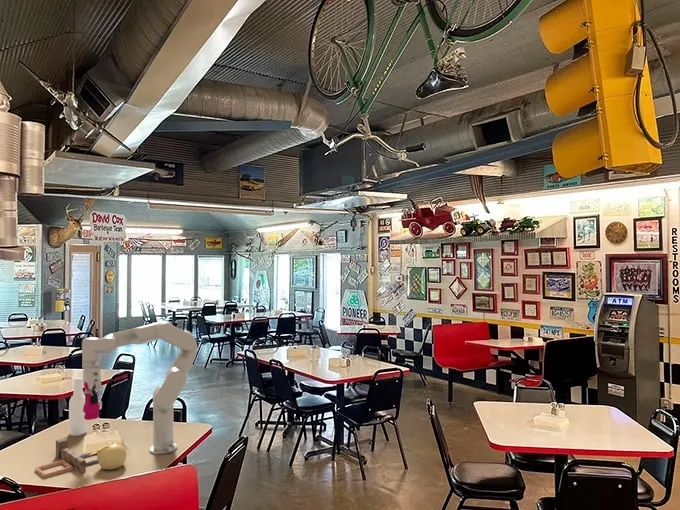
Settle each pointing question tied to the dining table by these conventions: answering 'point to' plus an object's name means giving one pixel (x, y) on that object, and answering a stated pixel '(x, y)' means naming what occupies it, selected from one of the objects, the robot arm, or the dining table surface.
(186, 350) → the robot arm
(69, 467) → the collar
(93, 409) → the pepper mill
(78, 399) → the alcohol
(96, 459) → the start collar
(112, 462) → the pale yellow round fruit
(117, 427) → the dining table surface
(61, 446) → the door edge board
